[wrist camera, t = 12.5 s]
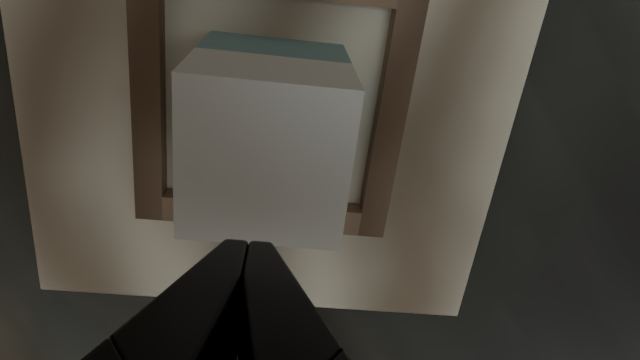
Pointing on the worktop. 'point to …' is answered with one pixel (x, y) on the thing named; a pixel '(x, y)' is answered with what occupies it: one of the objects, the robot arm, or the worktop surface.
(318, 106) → the block stack
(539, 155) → the worktop surface
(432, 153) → the seating plate
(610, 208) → the worktop surface
